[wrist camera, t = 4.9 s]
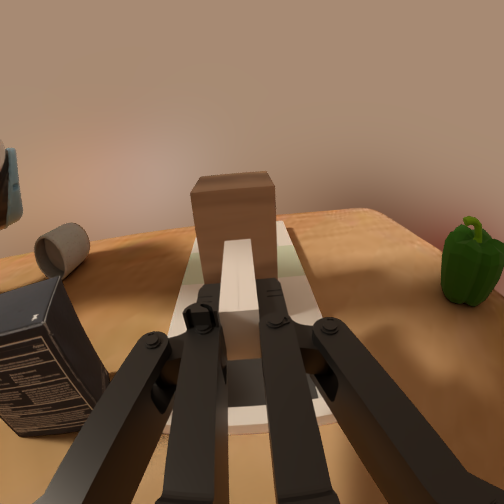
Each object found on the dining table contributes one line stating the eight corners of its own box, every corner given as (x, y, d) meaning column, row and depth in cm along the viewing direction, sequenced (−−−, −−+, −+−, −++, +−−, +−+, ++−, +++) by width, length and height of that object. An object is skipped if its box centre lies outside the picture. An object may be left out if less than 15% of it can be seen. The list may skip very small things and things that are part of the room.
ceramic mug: (98, 257, 43) (85, 215, 39) (72, 282, 35) (55, 235, 32) (58, 258, 44) (46, 221, 40) (33, 281, 36) (17, 240, 33)
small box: (110, 369, 21) (62, 270, 17) (117, 426, 16) (46, 324, 11) (24, 386, 18) (-32, 299, 13) (18, 438, 12) (-59, 349, 8)
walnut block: (278, 319, 25) (274, 185, 19) (212, 324, 25) (190, 193, 19) (271, 283, 30) (266, 171, 25) (215, 287, 30) (200, 176, 25)
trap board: (351, 419, 16) (355, 408, 15) (154, 432, 16) (147, 423, 15) (282, 229, 47) (282, 220, 47) (200, 235, 47) (199, 227, 46)
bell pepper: (482, 283, 28) (501, 213, 23) (493, 320, 21) (522, 239, 17) (430, 272, 32) (445, 200, 27) (432, 308, 25) (455, 223, 21)
